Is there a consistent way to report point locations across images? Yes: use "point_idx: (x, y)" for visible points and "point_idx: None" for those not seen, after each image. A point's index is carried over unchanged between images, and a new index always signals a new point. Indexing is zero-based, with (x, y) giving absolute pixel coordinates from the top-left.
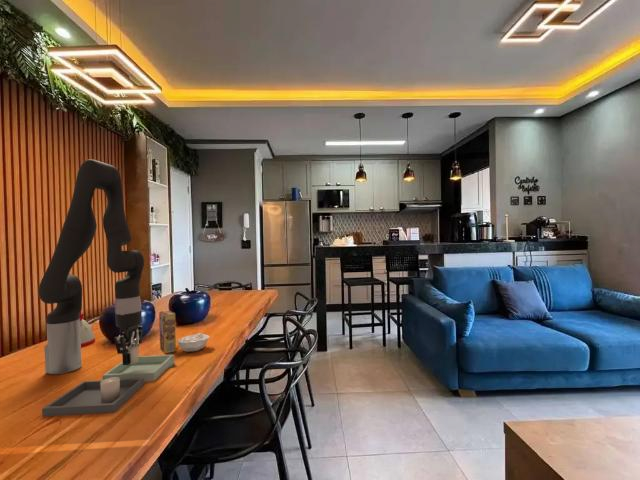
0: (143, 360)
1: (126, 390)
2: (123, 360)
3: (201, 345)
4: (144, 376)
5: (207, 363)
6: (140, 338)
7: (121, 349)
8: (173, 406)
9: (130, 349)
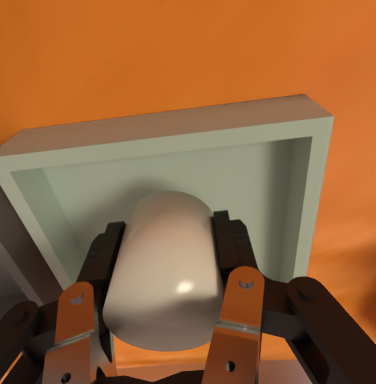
0: (294, 200)
1: (4, 273)
2: (89, 256)
3: None
4: None
5: (270, 352)
6: (307, 370)
7: (58, 324)
8: (9, 369)
9: (119, 337)
